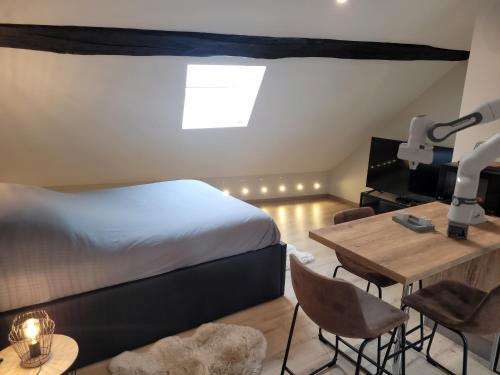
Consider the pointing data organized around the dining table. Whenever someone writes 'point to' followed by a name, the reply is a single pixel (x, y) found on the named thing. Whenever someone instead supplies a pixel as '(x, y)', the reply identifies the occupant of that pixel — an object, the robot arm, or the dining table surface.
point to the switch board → (413, 224)
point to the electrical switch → (457, 229)
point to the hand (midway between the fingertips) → (412, 168)
